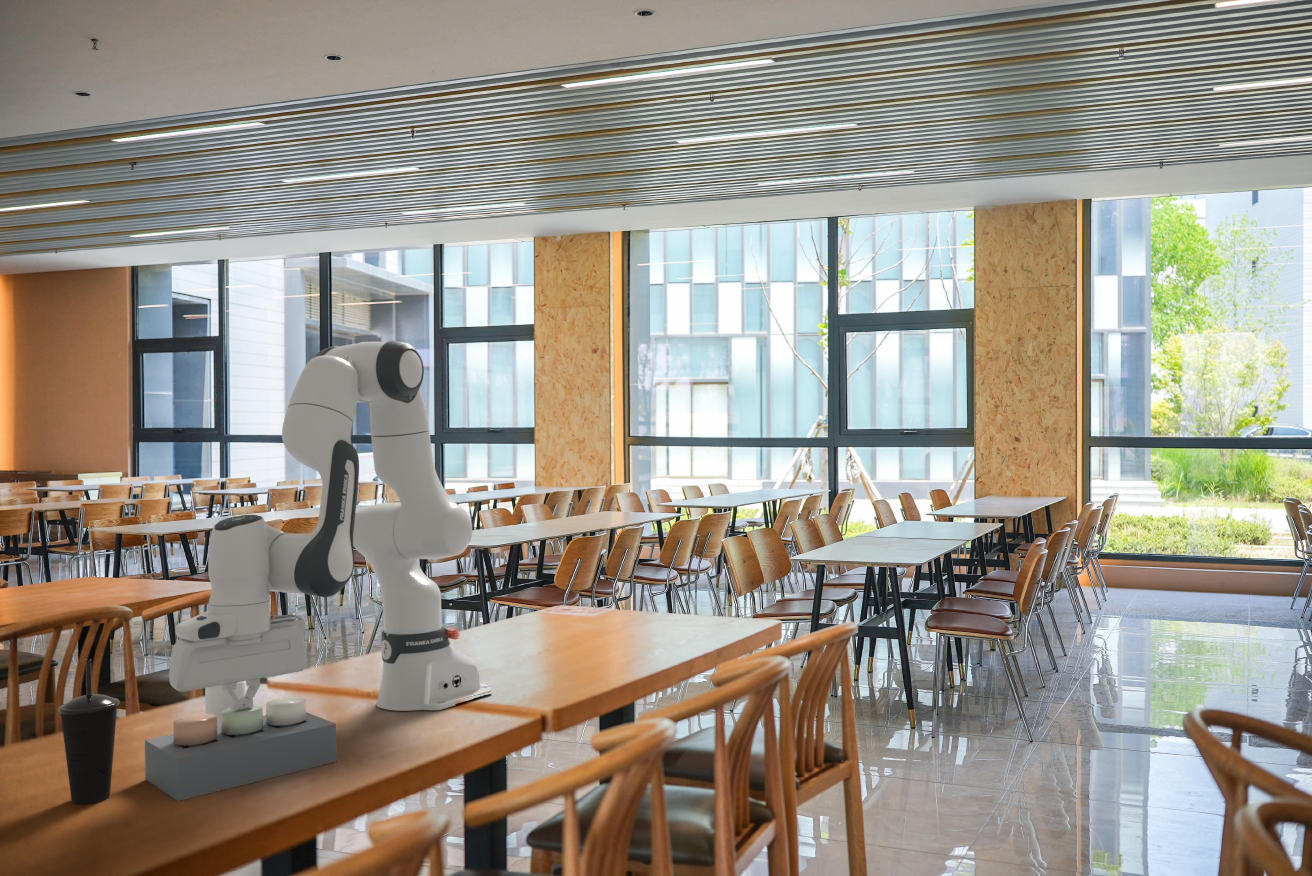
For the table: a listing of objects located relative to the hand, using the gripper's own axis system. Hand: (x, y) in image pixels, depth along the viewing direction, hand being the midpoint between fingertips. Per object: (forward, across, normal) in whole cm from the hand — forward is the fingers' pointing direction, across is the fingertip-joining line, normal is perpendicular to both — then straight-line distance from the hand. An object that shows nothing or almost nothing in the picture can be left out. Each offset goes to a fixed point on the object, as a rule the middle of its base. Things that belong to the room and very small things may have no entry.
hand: (241, 709), depth 156 cm
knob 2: (+9, -7, 0) cm, 11 cm away
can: (+10, -4, -17) cm, 20 cm away
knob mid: (+9, 0, 0) cm, 9 cm away
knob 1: (+9, +7, 0) cm, 11 cm away
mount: (+9, 0, 0) cm, 9 cm away
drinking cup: (+10, +20, -4) cm, 23 cm away
